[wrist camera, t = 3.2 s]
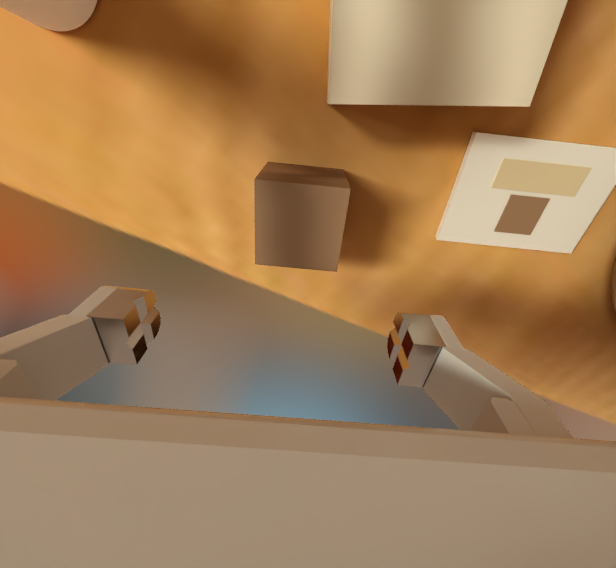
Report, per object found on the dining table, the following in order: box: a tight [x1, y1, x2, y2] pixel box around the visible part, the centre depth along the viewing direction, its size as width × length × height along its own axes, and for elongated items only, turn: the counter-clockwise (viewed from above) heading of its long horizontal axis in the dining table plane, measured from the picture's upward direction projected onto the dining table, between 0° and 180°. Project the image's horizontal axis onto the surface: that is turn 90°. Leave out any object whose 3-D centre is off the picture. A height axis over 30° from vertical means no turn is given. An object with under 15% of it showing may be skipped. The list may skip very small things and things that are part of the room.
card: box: [435, 132, 616, 254], centre depth 20 cm, size 10×7×1 cm
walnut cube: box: [255, 162, 351, 272], centre depth 18 cm, size 5×5×5 cm
